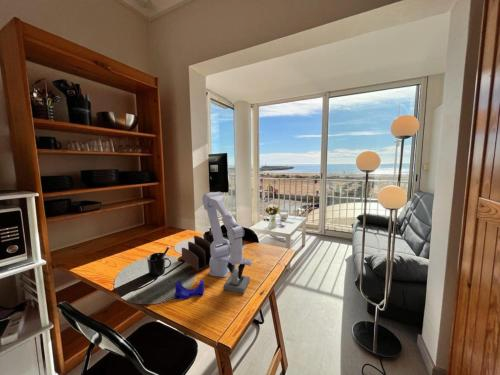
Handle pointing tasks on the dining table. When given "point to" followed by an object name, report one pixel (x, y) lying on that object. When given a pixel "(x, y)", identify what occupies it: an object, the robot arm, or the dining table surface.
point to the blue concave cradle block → (188, 291)
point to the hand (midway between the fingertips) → (236, 277)
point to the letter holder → (197, 253)
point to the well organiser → (237, 289)
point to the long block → (235, 277)
